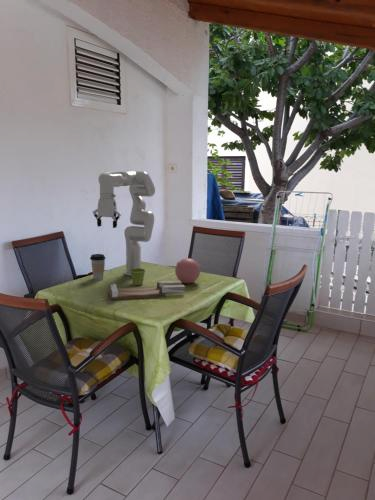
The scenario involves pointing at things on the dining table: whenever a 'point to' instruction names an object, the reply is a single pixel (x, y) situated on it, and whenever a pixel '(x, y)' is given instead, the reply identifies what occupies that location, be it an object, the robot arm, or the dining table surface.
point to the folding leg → (114, 290)
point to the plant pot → (137, 276)
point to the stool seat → (148, 290)
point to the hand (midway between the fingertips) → (107, 227)
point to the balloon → (187, 270)
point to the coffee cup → (98, 265)
